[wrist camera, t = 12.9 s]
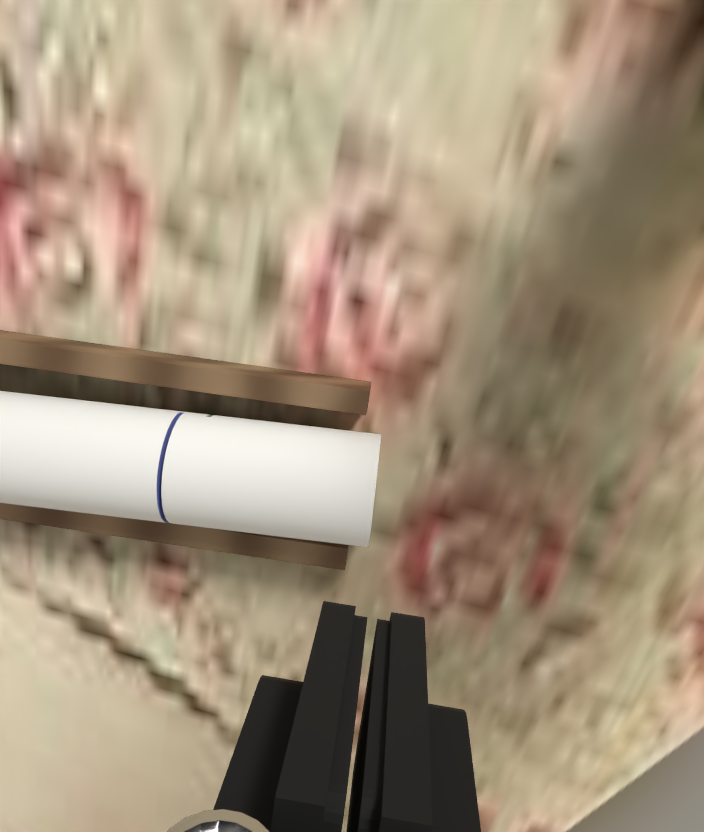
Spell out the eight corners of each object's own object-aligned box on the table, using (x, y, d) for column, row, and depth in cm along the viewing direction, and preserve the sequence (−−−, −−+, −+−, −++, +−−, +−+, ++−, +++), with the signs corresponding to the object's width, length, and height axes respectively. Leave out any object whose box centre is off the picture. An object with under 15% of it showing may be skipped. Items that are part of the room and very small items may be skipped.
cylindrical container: (366, 571, 39) (-34, 522, 40) (372, 507, 46) (28, 466, 47) (378, 468, 36) (-55, 418, 37) (383, 415, 43) (14, 374, 44)
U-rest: (371, 381, 43) (368, 396, 38) (348, 547, 46) (342, 580, 41) (-30, 326, 44) (-83, 333, 39) (-29, 491, 47) (-78, 517, 42)
